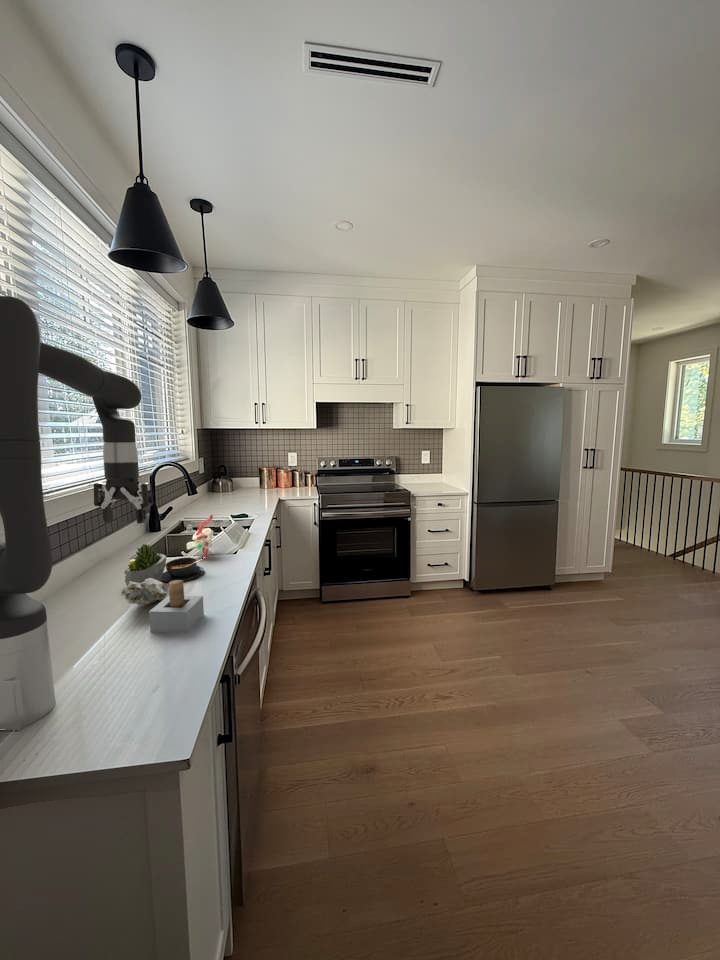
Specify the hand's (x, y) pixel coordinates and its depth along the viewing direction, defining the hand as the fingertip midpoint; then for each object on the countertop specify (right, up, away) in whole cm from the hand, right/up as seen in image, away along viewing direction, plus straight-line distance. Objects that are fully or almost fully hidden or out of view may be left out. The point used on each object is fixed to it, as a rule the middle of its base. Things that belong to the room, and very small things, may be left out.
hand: (125, 522), depth 102 cm
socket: (+11, -29, +7) cm, 31 cm away
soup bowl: (-4, -25, +42) cm, 49 cm away
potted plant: (-12, -26, +33) cm, 44 cm away
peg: (+11, -29, +7) cm, 31 cm away
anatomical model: (-6, -22, +63) cm, 67 cm away
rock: (-4, -27, +18) cm, 33 cm away
